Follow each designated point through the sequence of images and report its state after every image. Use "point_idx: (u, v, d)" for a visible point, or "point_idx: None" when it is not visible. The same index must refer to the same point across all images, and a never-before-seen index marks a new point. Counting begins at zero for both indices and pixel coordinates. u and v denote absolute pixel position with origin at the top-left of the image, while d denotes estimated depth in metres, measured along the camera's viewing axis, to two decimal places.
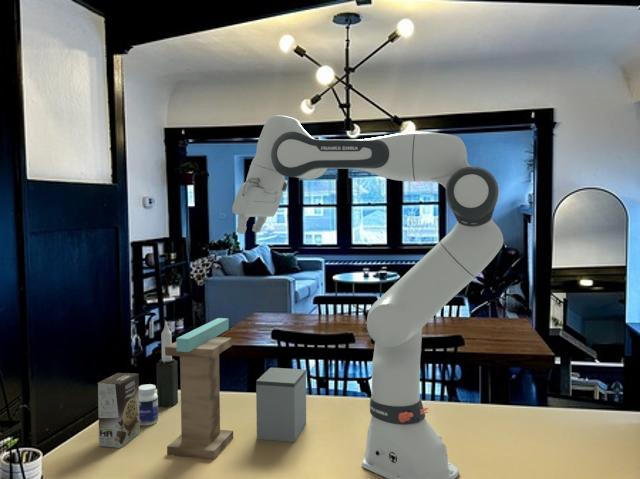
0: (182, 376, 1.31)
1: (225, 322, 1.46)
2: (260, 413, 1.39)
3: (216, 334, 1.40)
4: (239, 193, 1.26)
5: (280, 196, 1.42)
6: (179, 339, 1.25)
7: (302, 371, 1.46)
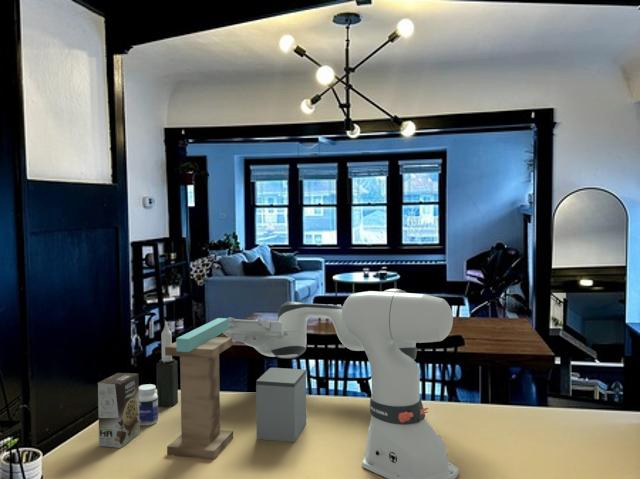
0: (182, 376, 1.31)
1: (225, 322, 1.46)
2: (260, 413, 1.39)
3: (216, 334, 1.40)
4: (284, 327, 1.69)
5: (231, 336, 1.73)
6: (179, 339, 1.25)
7: (302, 371, 1.46)
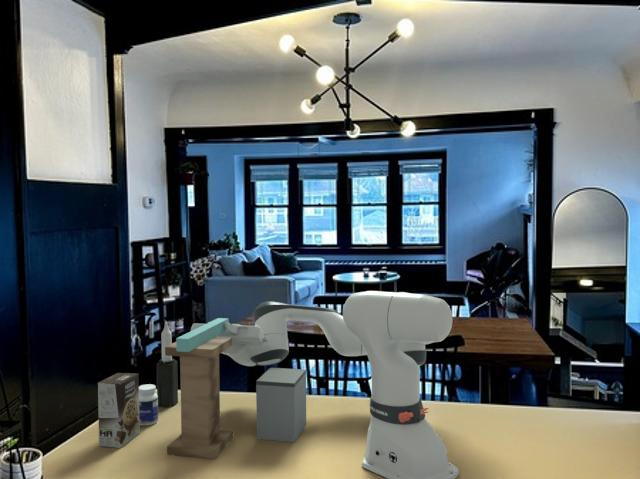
0: (182, 376, 1.31)
1: (225, 322, 1.45)
2: (260, 413, 1.39)
3: (216, 334, 1.40)
4: (263, 333, 1.51)
5: None
6: (179, 339, 1.25)
7: (302, 371, 1.46)
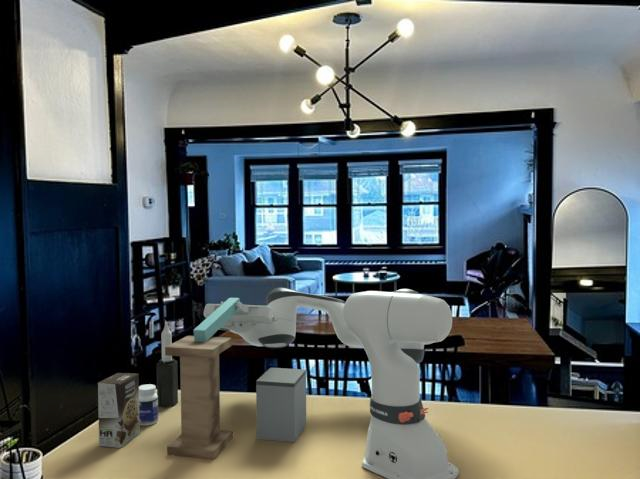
0: (182, 376, 1.31)
1: None
2: (260, 413, 1.39)
3: (229, 316, 1.49)
4: (272, 313, 1.60)
5: None
6: (196, 330, 1.34)
7: (302, 371, 1.46)
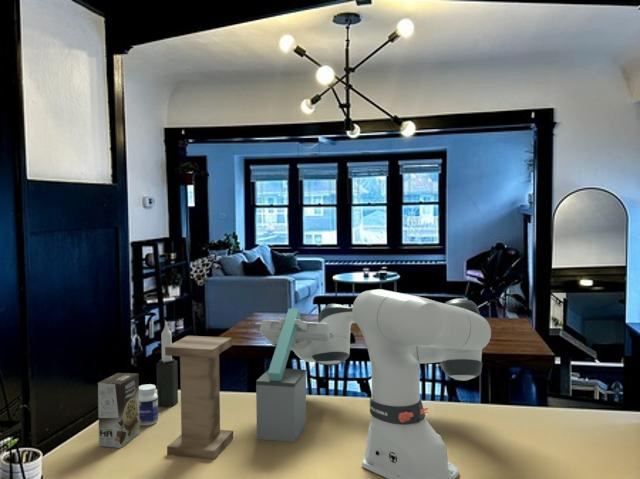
0: (182, 376, 1.31)
1: (297, 315, 1.54)
2: (260, 413, 1.39)
3: (294, 335, 1.50)
4: None
5: (271, 339, 1.61)
6: (270, 373, 1.36)
7: (302, 371, 1.46)
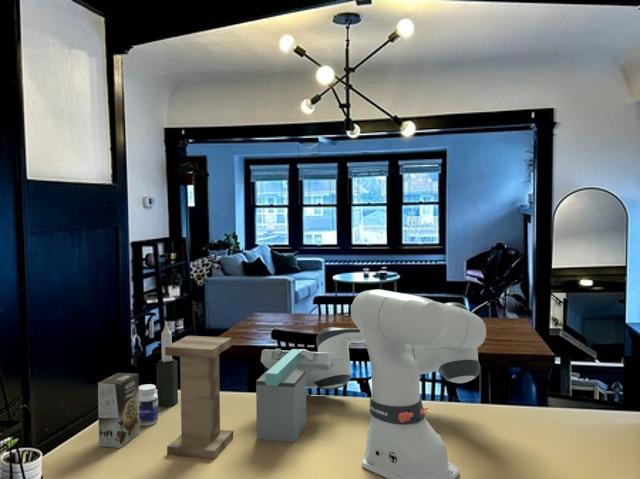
0: (182, 376, 1.31)
1: None
2: (260, 413, 1.39)
3: (294, 366, 1.50)
4: None
5: None
6: (268, 374, 1.35)
7: (302, 371, 1.46)
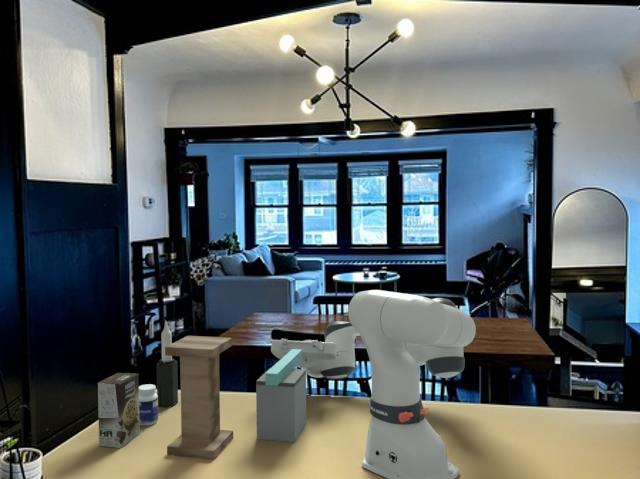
0: (182, 376, 1.31)
1: (300, 353, 1.55)
2: (260, 413, 1.39)
3: (294, 366, 1.50)
4: None
5: (281, 358, 1.70)
6: (268, 374, 1.35)
7: (302, 371, 1.46)
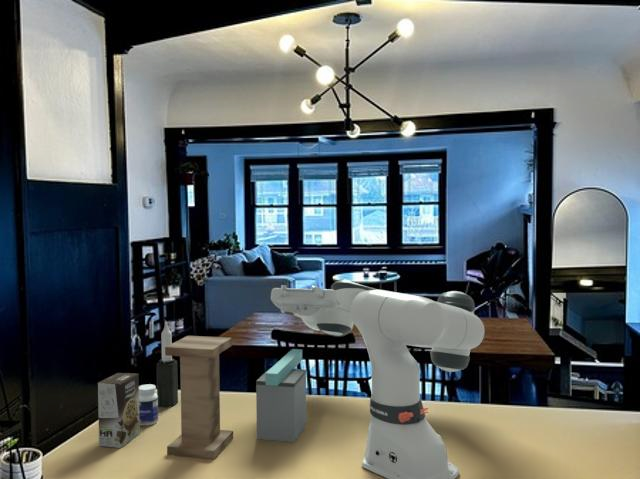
0: (182, 376, 1.31)
1: (300, 353, 1.55)
2: (260, 413, 1.39)
3: (294, 366, 1.50)
4: None
5: (281, 307, 1.69)
6: (268, 374, 1.35)
7: (302, 371, 1.46)
